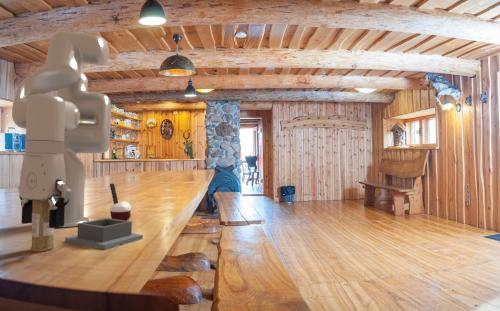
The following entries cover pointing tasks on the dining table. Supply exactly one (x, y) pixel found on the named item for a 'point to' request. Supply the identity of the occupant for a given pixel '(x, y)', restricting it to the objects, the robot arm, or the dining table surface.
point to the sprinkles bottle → (41, 227)
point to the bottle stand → (104, 233)
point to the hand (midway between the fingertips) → (42, 224)
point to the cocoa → (119, 207)
